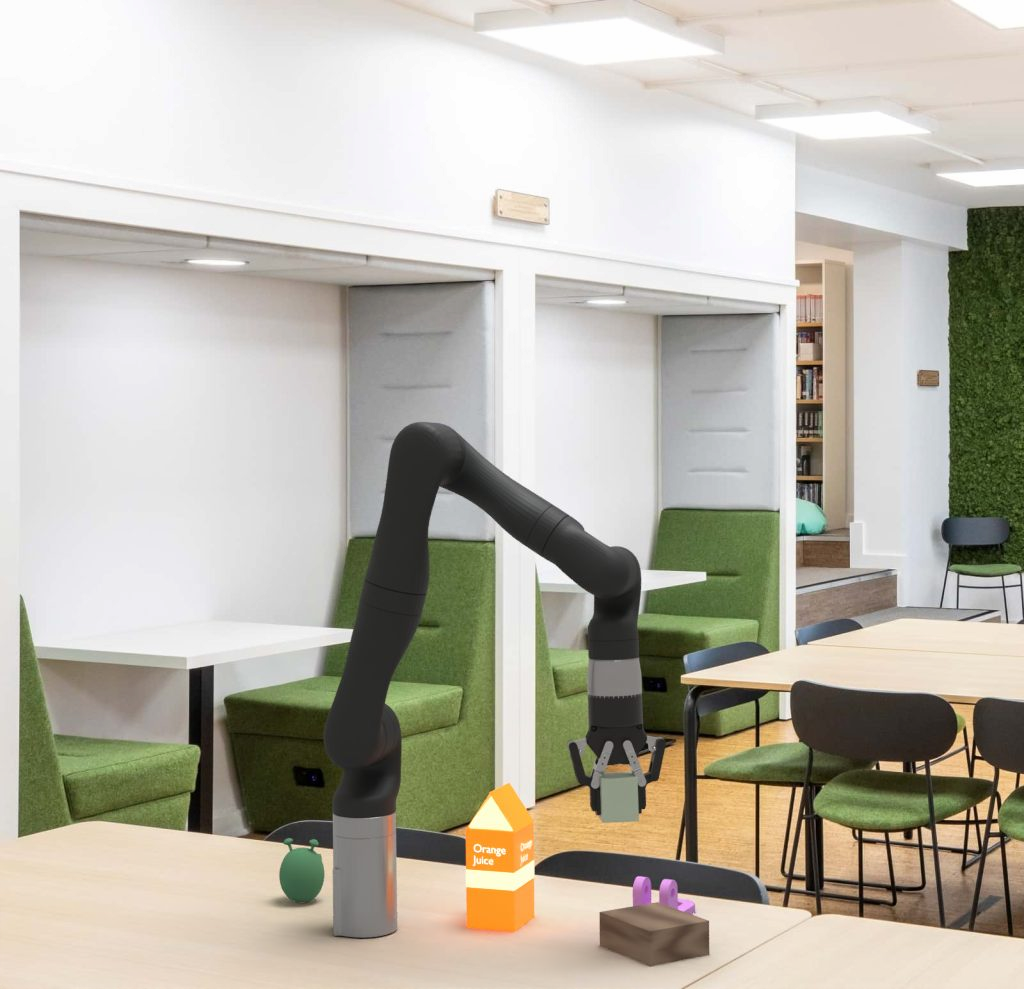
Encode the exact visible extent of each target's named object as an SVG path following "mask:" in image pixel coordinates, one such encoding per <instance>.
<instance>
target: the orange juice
mask: <svg viewBox="0 0 1024 989" xmlns="http://www.w3.org/2000/svg"><path fill="white" fill-rule="evenodd" d="M488 793H489V794H488V796H487V797H486V799H485V800H484V801H483V802H482V804H481V806H480V808H479V809H478V811H477V812H476V814H474V817H473V818H472V820H471V821H470V823H469V824H468V825H467V827H466V828H465V889H466V892H465V893H466V900H465V901H466V928H467V929H477V930H485V931H486V930H489V931H490V930H491V931H500V932H501V931H502V932H509V933H510V932H512V933H516V932H517V931H518V930H520V929H521V928H522V927H524V926H525V924H527V923H528V922H529V921H531V920H533V919H534V918H535V853H534V852H535V851H534V850H535V849H534V847H535V845H534V844H535V843H534V842H535V838H534V837H535V836H534V833H535V832H534V822H535V821H534V819H533V818H532V816H531V814H530V813H529V811H528V810H527V807H526V806H525V805H524V803H523V802H522V800H521V798H520V797H519V794H518V793H517V792H516V791H515V789H514V787H513V786H512V784H511V782H507V783H506V784H504V785H501V786H500V787H498V788H495V789H494V790H491V791H489V792H488Z"/></svg>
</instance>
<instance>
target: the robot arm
mask: <svg viewBox="0 0 1024 989" xmlns="http://www.w3.org/2000/svg"><path fill="white" fill-rule="evenodd" d="M387 465H388V466H387V473H386V474H387V475H386V480H385V481H386V482H385V488H384V489H385V490H384V497H383V503H382V508H381V514H380V517H379V523H378V525H377V528H376V533H375V537H374V540H373V544H372V550H371V553H370V557H369V562H368V565H367V568H366V571H365V575H364V580H363V584H362V588H361V593H360V597H359V599H358V600H359V601H358V606H357V612H356V616H355V620H354V625H353V628H352V633H351V638H350V642H349V644H348V645H349V646H348V650H347V655H346V656H347V657H346V661H345V664H344V668H343V672H342V674H341V678H340V680H339V683H338V684H339V685H338V687H337V689H336V692H335V696H334V698H333V701H332V704H331V707H330V709H329V712H328V714H327V718H326V721H325V724H324V729H323V745H324V749H325V752H326V754H327V756H328V758H329V759H330V761H331V762H332V763H333V764H334V765H335V766H337V768H340V769H342V770H343V772H342V776H341V780H340V782H339V785H338V787H337V788H336V790H335V791H334V794H333V796H332V853H333V854H332V856H333V857H332V858H333V859H332V860H333V862H332V864H333V865H332V921H333V922H332V924H333V925H332V926H333V927H332V930H333V934H332V935H333V936H334V937H335V936H342V937H347V938H348V937H350V938H373V937H374V938H376V937H382V936H386V935H389V934H392V933H394V932H396V930H398V885H397V884H398V882H397V881H398V880H397V876H398V875H397V872H398V871H397V867H398V866H397V799H398V798H397V797H398V796H399V792H400V790H401V789H400V788H401V782H402V781H401V779H402V751H403V750H402V749H403V748H402V746H403V743H402V729H401V724H400V721H399V718H398V716H397V714H396V712H395V711H394V710H393V709H392V708H391V707H390V706H389V705H388V704H387V703H386V700H387V697H388V696H387V695H388V691H389V688H390V685H391V681H392V678H393V677H394V674H395V672H396V670H397V669H398V666H399V664H400V663H401V660H402V659H403V657H404V656H405V653H406V651H407V650H408V649H409V647H410V645H411V643H412V641H413V639H414V636H415V634H416V632H417V630H418V627H419V624H420V622H421V618H422V614H423V612H424V606H425V602H426V598H427V594H428V590H429V584H430V575H431V574H430V572H431V571H430V570H431V569H430V566H431V565H430V548H429V547H430V546H429V529H430V528H429V527H430V522H431V521H430V520H431V516H432V512H433V509H434V506H435V502H436V497H437V494H438V492H439V489H440V488H442V489H444V490H447V491H450V492H452V493H454V494H456V495H459V496H460V497H462V498H463V499H465V500H468V501H469V502H471V503H472V504H474V505H475V506H477V507H478V508H479V509H481V510H482V511H483V512H485V513H486V514H487V515H488V516H489V517H491V519H492V520H494V521H495V522H496V523H497V524H498V525H499V526H500V528H502V529H503V530H504V531H505V532H506V533H507V534H508V535H510V536H511V537H512V538H513V539H515V540H516V541H517V542H519V544H521V545H523V546H525V547H527V548H528V549H530V550H531V551H532V552H534V553H535V554H536V555H539V556H540V557H541V558H543V559H544V560H546V561H547V562H549V563H552V564H553V565H555V566H556V567H557V568H558V569H559V570H560V571H561V572H562V573H563V574H564V575H566V576H567V577H568V578H569V579H570V580H571V581H573V582H574V583H575V584H576V585H577V586H579V587H580V588H581V589H583V590H585V591H586V592H587V593H589V594H591V595H593V615H592V617H591V619H590V621H589V623H588V627H587V653H588V654H587V655H588V665H587V671H586V672H587V673H586V674H587V677H586V679H587V683H586V690H587V710H588V717H587V718H588V730H587V733H586V735H585V737H584V738H580V739H578V740H573V739H570V740H568V741H567V743H566V745H567V750H568V753H569V758H570V762H571V764H572V768H573V772H574V776H575V779H576V780H577V781H576V782H578V784H579V785H584V786H586V787H588V789H589V807H590V809H591V811H592V812H594V813H595V815H596V816H598V815H601V795H600V788H599V785H600V777H602V776H603V774H604V773H606V772H605V771H606V768H607V766H614V765H617V764H618V765H625V766H626V765H628V767H629V768H630V772H632V773H633V774H634V776H637V778H638V810H639V815H641V814H642V812H643V810H645V809H646V807H647V794H646V793H647V790H646V789H647V785H649V784H651V783H654V782H657V781H659V779H660V775H661V771H662V770H661V769H662V764H663V761H664V760H663V759H664V756H665V751H666V747H667V746H666V745H667V742H666V739H664V738H663V737H661V736H653V735H652V736H651V735H648V734H647V733H646V731H645V729H644V718H643V715H644V712H643V687H642V686H643V683H642V682H643V681H642V680H643V679H642V670H641V663H640V646H639V629H638V621H639V620H638V619H639V613H640V605H641V597H642V596H641V595H642V570H641V565H640V563H639V560H638V558H637V556H635V554H634V553H633V552H632V551H631V550H629V549H628V548H626V547H624V546H619V545H618V546H609V545H608V544H606V543H604V542H602V541H601V540H600V539H598V538H596V537H595V536H593V535H592V534H590V533H589V532H587V530H585V527H584V526H583V525H582V523H581V522H579V521H578V520H577V519H575V518H574V517H573V516H571V515H570V514H569V513H567V512H566V511H564V510H562V509H560V508H559V507H557V506H556V505H554V504H552V503H551V502H550V501H548V500H546V499H545V498H543V497H542V496H540V495H539V494H537V493H535V492H534V491H532V490H530V489H528V488H527V487H526V486H524V485H522V484H520V483H519V482H518V481H516V480H514V479H513V478H511V477H510V476H509V475H507V474H506V473H504V472H503V471H502V470H500V469H499V468H498V467H496V465H495V464H493V463H492V462H490V460H488V459H487V458H486V457H485V456H483V455H482V454H481V453H480V452H479V451H478V450H477V449H475V447H474V446H472V444H470V443H469V442H468V441H467V440H466V439H465V438H464V437H463V436H462V435H461V434H459V433H458V432H457V431H456V430H455V429H454V428H452V427H451V426H449V425H447V424H443V423H441V422H430V421H418V422H417V421H416V422H413V423H409V424H408V425H406V426H404V427H403V428H402V429H401V430H400V431H399V432H398V434H397V435H396V436H395V437H394V439H393V443H392V444H391V448H390V453H389V459H388V464H387ZM646 744H647V745H648V751H650V752H651V756H650V761H649V767H648V771H647V772H645V773H644V772H643V770H642V766H641V764H640V762H639V759H638V755H639V754H640V752H641V751H642V749H643V748H644V746H645V745H646ZM586 747H589V749H590V750H591V751H592V753H593V754H594V755H595V756H596V757H595V759H594V762H593V765H592V770H591V774H590V775H587V774H586V773H585V772H586V771H585V769H584V768H585V767H584V765H583V761H582V757H581V756H583V755H585V748H586Z"/></svg>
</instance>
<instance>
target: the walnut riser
mask: <svg viewBox="0 0 1024 989" xmlns="http://www.w3.org/2000/svg"><path fill="white" fill-rule="evenodd" d="M658 902H659V901H657V902H651V903H650V904H644V905H638V906H633V905H632V906H627V907H621V908H614V909H609V910H604V911H603V910H602V911H599V947H602V948H604V949H607V950H609V951H612V952H615V953H617V954H619V955H622V956H623V957H626V958H629V959H631V960H633V961H635V962H638V963H641V964H643V965H646V966H649V967H654V966H660V965H664V964H670V963H675V962H679V961H685V960H689V959H694V958H695V959H696V958H700V957H705V956H709V955H710V921H709V920H708V919H706V918H702V917H700V916H697V915H694V914H689V913H686V912H683V911H680V910H678V909H675V908H672V907H669V906H666V905H663V904H661V903H658Z"/></svg>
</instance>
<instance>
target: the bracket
mask: <svg viewBox="0 0 1024 989" xmlns="http://www.w3.org/2000/svg"><path fill="white" fill-rule="evenodd" d="M651 882H652V881H651V879H650V878H649V877H648V876H641V875H640V876H639V875H638V876H636V877H635V879H634V881H633V884H632V906H638V905H644V904H650V903H652V883H651ZM658 894H659V896H658V897H659V898H658V900H659V901H657V902H658V903H661V904H663V905H666V906H669V907H672V908H675V909H678V910H680V911H683V912H686V913H689V914H692V915H694V914H695V913H696V902H695V901H693V900H691V899H690V900H689V899H685V898H679V896H678V895H679V894H678V883H677V881H676V880H675V879H669V878H663V879H662V881H661V882H660V885H659V890H658ZM693 913H694V914H693Z"/></svg>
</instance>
